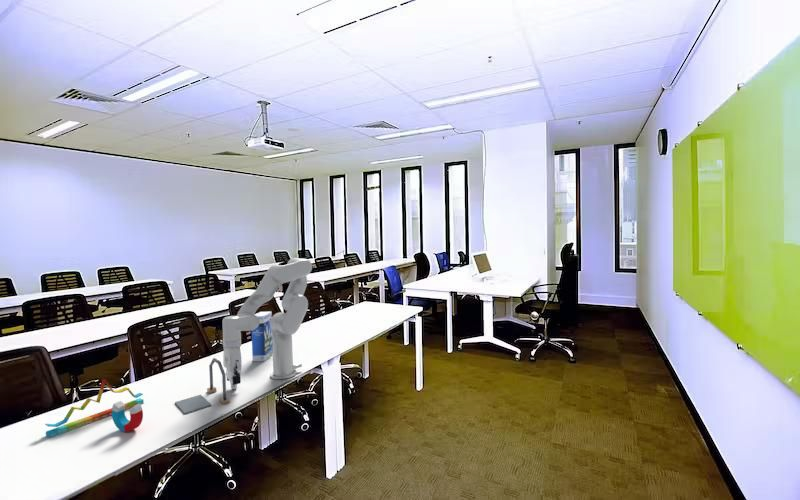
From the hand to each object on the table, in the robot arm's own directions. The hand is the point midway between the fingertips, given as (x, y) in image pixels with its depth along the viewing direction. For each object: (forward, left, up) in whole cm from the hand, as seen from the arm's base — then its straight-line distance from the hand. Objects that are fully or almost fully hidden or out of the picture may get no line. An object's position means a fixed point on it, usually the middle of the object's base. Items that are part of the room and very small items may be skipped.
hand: (233, 381), depth 169 cm
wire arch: (+8, +3, -4) cm, 9 cm away
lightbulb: (0, 0, -4) cm, 4 cm away
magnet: (+41, +8, -4) cm, 42 cm away
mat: (+18, +3, -4) cm, 19 cm away
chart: (+47, -12, -4) cm, 49 cm away
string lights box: (-29, -33, -4) cm, 44 cm away
